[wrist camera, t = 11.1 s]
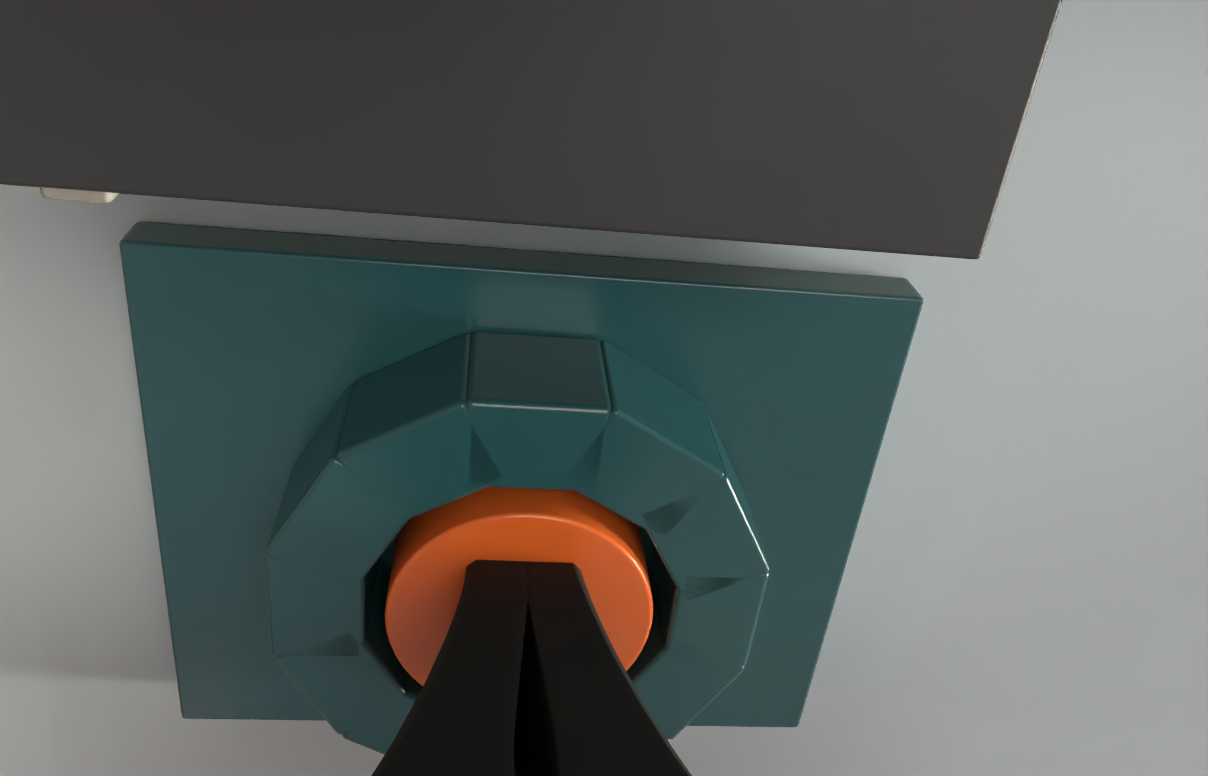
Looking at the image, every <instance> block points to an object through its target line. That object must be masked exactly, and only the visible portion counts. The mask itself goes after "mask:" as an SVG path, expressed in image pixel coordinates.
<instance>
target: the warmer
mask: <svg viewBox="0 0 1208 776" xmlns="http://www.w3.org/2000/svg"><path fill="white" fill-rule="evenodd" d="M1061 2H1062V0H0V184H5V185H18V186H31V187H40V191H41V194H42V196H43V197H44V198H47V199H58V200H72V201H85V202H98V203H108V202H111V201H112V200H113V199H114V198H115V197H116V196H117V195H118V194H119V193H122V194H135V195H148V196H161V197H174V198H187V199H200V200H213V201H226V202H239V203H252V204H265V205H278V206H290V207H303V208H316V209H329V210H342V211H355V212H368V213H381V214H394V215H407V216H420V217H433V218H446V219H459V220H472V221H485V222H498V223H511V224H524V225H537V226H550V227H563V228H576V229H589V230H602V231H615V232H628V233H641V234H654V235H667V236H680V237H693V238H706V239H719V240H732V241H745V242H758V243H770V244H783V245H796V246H809V247H822V248H835V249H848V250H861V251H874V252H887V253H900V254H913V255H926V256H939V257H952V258H965V259H978V258H979V257H980V256H981V254H982V251H983V248H984V244H985V241H986V238H987V235H988V232H989V229H990V226H991V222H992V219H993V216H994V213H995V210H996V207H997V204H998V200H999V197H1000V194H1001V191H1002V188H1003V185H1004V182H1005V178H1006V175H1007V172H1008V169H1009V166H1010V163H1011V159H1012V156H1013V153H1014V150H1015V147H1016V144H1017V141H1018V137H1019V134H1020V131H1021V128H1022V125H1023V122H1024V119H1025V115H1026V112H1027V109H1028V106H1029V103H1030V100H1031V97H1032V93H1033V90H1034V87H1035V84H1036V81H1037V78H1038V75H1039V71H1040V68H1041V65H1042V62H1043V59H1044V56H1045V53H1046V49H1047V46H1048V43H1049V40H1050V37H1051V34H1052V31H1053V27H1054V24H1055V21H1056V18H1057V15H1058V12H1059V9H1060V5H1061Z"/></svg>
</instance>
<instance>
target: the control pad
mask: <svg viewBox="0 0 1208 776" xmlns="http://www.w3.org/2000/svg"><path fill="white" fill-rule="evenodd" d="M120 251H121V259H122V266H123V274H124V281H125V289H126V297H127V304H128V312H129V319H130V327H131V334H132V342H133V350H134V357H135V365H136V372H137V380H138V387H139V395H140V402H141V410H142V418H143V425H144V433H145V440H146V448H147V455H148V463H149V470H150V478H151V486H152V493H153V501H154V508H155V516H156V523H157V531H158V539H159V546H160V554H161V561H162V569H163V576H164V584H165V591H166V599H167V607H168V614H169V622H170V629H171V637H172V644H173V652H174V659H175V667H176V675H177V682H178V690H179V697H180V705H181V712H182V717H183V718H188V719H258V720H326V721H327V722H328V723H329V724H330V725H331V726H332V727H333V729H334V730H335V731H336V732H337V733H338V734H340V735H343V737H344V738H345V739H347V740H350V741H352V742H355V743H357V744H360V745H362V746H365V747H367V748H370V749H372V750H375V751H377V752H380V753H382V754H386V752H387V750H388V749H389V747H390V745H391V744H392V742H393V740H394V739H395V737H396V735H397V734H398V732H399V730H400V728H401V726H402V724H403V723H404V721H405V719H406V717H407V715H408V713H409V712H410V710H411V708H412V706H413V704H414V702H415V701H416V699H417V697H418V695H419V693H420V691H421V690H422V688H423V686H422V685H421V684H419V683H418V682H417V681H416V680H415V679H413V678H412V677H411V675H410V674H409V673H408V672H407V671H406V670H405V669H404V668H403V666H402V665H401V663H400V662H399V660H398V659H397V657H396V655H395V653H394V651H393V649H392V647H391V644H390V642H389V639H388V635H387V631H386V625H385V607H386V599H387V592H388V586H389V579H390V573H391V566H392V560H393V553H394V547H395V540H396V536H397V534H398V533H399V532H400V531H401V529H402V528H403V527H404V525H405V524H406V523H407V522H408V520H409V519H411V518H414V517H416V516H418V515H421V514H423V513H426V512H428V511H431V510H433V509H435V508H438V507H440V506H443V505H445V504H448V503H450V502H452V501H455V500H457V499H460V498H462V497H465V496H467V495H469V494H472V493H474V492H477V491H479V490H482V489H484V488H486V487H503V488H526V489H549V490H572V491H576V492H578V493H580V494H582V495H584V496H585V497H587V498H589V499H591V500H593V501H594V502H596V503H598V504H600V505H602V506H604V507H605V508H607V509H609V510H611V511H613V512H615V513H616V514H618V515H620V516H622V517H624V518H625V519H627V520H629V521H631V522H633V523H635V524H636V525H638V526H639V527H640V532H641V538H642V543H643V549H644V554H645V560H646V565H647V571H648V576H649V582H650V587H651V593H652V600H653V617H652V625H651V628H650V632H649V636H648V638H647V640H646V642H645V645H644V647H643V649H642V651H641V652H640V654H639V656H638V657H637V659H636V660H635V662H634V663H633V664H632V665H631V666H630V668H629V669H628V670H627V671H626V672H627V674H628V675H629V677H630V679H631V681H632V683H633V684H634V686H635V688H636V690H637V692H638V694H639V695H640V697H641V699H642V700H643V702H644V704H645V705H646V707H647V709H648V710H649V712H650V714H651V715H652V717H653V718H654V720H655V722H656V723H657V725H658V726H659V728H660V729H661V731H662V732H663V734H664V736H665V737H666V739H667V740H668V739H673V738H674V737H675V736H676V735H677V734H678V733H679V732H680V731H681V730H682V729H683V728H685V727H686V726H747V727H797V726H798V724H799V721H800V718H801V714H802V711H803V708H804V704H805V701H806V697H807V694H808V691H809V687H810V684H811V680H812V677H813V674H814V670H815V667H816V663H817V660H818V657H819V653H820V650H821V646H822V643H823V640H824V636H825V633H826V630H827V626H828V623H829V619H830V616H831V613H832V609H833V606H834V602H835V599H836V596H837V592H838V589H839V585H840V582H841V579H842V575H843V572H844V568H845V565H846V562H847V558H848V555H849V552H850V548H851V545H852V541H853V538H854V535H855V531H856V528H857V524H858V521H859V518H860V514H861V511H862V507H863V504H864V501H865V497H866V494H867V490H868V487H869V484H870V480H871V477H872V474H873V470H874V467H875V463H876V460H877V457H878V453H879V450H880V446H881V443H882V440H883V436H884V433H885V429H886V426H887V423H888V419H889V416H890V413H891V409H892V406H893V402H894V399H895V396H896V392H897V389H898V385H899V382H900V379H901V375H902V372H903V368H904V365H905V362H906V358H907V355H908V351H909V348H910V345H911V341H912V338H913V335H914V331H915V328H916V324H917V321H918V318H919V314H920V311H921V307H922V304H923V298H922V297H921V295H920V294H919V293H918V292H917V291H916V289H915V288H914V287H913V286H912V285H911V284H910V282H909V281H908V280H907V279H904V278H891V277H877V276H864V275H850V274H837V273H823V272H810V271H796V270H783V269H769V268H755V267H742V266H728V265H715V264H701V263H688V262H674V261H661V260H647V259H634V258H620V257H606V256H593V255H579V254H566V253H552V252H539V251H525V250H512V249H498V248H485V247H471V246H457V245H444V244H430V243H417V242H403V241H390V240H376V239H363V238H349V237H336V236H322V235H308V234H295V233H281V232H268V231H254V230H241V229H227V228H214V227H200V226H187V225H173V224H159V223H146V222H138V223H136V224H135V225H134V226H133V227H132V229H131V230H130V231H129V232H128V233H127V234H126V235H125V236H124V238H123V239H122V240H121V241H120Z"/></svg>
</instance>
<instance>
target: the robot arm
mask: <svg viewBox="0 0 1208 776" xmlns="http://www.w3.org/2000/svg"><path fill="white" fill-rule="evenodd" d="M372 776H692V775H691V774H690V772H689V771H688V770H687V768H686V767H685V765H684V764H683V763H682V761H681V760H680V758H679V757H678V755H677V754H676V752H675V751H674V749H673V748H672V746H671V745H670V743H669V742H668V740H667V739H666V737H665V736H664V734H663V732H662V731H661V729H660V728H659V726H658V725H657V723H656V722H655V720H654V718H653V717H652V715H651V714H650V712H649V710H648V709H647V707H646V705H645V704H644V702H643V700H642V699H641V697H640V695H639V694H638V692H637V690H636V688H635V686H634V684H633V683H632V681H631V679H630V677H629V675H628V674H627V672H626V670H625V668H624V666H623V665H622V663H621V661H620V659H619V657H618V655H617V653H616V651H615V649H614V647H613V646H612V644H611V642H610V640H609V637H608V635H607V633H606V631H605V629H604V627H603V625H602V623H601V621H600V618H599V616H598V614H597V612H596V609H595V607H594V605H593V602H592V600H591V597H590V595H589V592H588V590H587V587H586V584H585V582H584V579H583V576H582V572H581V570H580V569H579V568H578V567H577V566H576V565H575V564H574V563H564V562H533V561H504V560H475V561H473V562H472V563H471V564H469V565H468V566H466V574H465V580H464V585H463V589H462V593H461V596H460V600H459V603H458V606H457V609H456V612H455V614H454V617H453V620H452V622H451V625H450V628H449V630H448V633H447V635H446V638H445V640H444V642H443V644H442V647H441V649H440V651H439V653H438V655H437V658H436V660H435V662H434V664H433V667H432V669H431V671H430V673H429V675H428V678H427V680H426V682H425V684H424V686H423V688H422V690H421V691H420V693H419V695H418V697H417V699H416V701H415V702H414V704H413V706H412V708H411V710H410V712H409V713H408V715H407V717H406V719H405V721H404V723H403V724H402V726H401V728H400V730H399V732H398V734H397V735H396V737H395V739H394V740H393V742H392V744H391V745H390V747H389V749H388V750H387V752H386V754H385V755H384V757H383V759H382V760H381V762H380V763H379V765H378V767H377V768H376V770H375V771H374V773H373V774H372Z"/></svg>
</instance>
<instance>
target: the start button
mask: <svg viewBox="0 0 1208 776" xmlns="http://www.w3.org/2000/svg"><path fill="white" fill-rule="evenodd" d="M475 560H504V561H533V562H564V563H574V564H575V565H576V566H577V567H578V568H579V569H580V570H581V572H582V576H583V579H584V582H585V584H586V587H587V590H588V592H589V595H590V597H591V600H592V602H593V605H594V607H595V609H596V612H597V614H598V616H599V618H600V621H601V623H602V625H603V627H604V629H605V631H606V633H607V635H608V637H609V640H610V642H611V644H612V646H613V647H614V649H615V651H616V653H617V655H618V657H619V659H620V661H621V663H622V665H623V666H624V668H625V670H626V671H627V670H628V669H629V668H630V666H631V665H632V664H633V663H634V662H635V660H636V659H637V657H638V656H639V654H640V652H641V651H642V649H643V647H644V645H645V642H646V640H647V638H648V636H649V632H650V628H651V625H652V617H653V600H652V593H651V587H650V582H649V576H648V571H647V565H646V560H645V554H644V549H643V543H642V538H641V532H640V527H639V526H638V525H636V524H635V523H633V522H631V521H629V520H627V519H625V518H624V517H622V516H620V515H618V514H616V513H615V512H613V511H611V510H609V509H607V508H605V507H604V506H602V505H600V504H598V503H596V502H594V501H593V500H591V499H589V498H587V497H585V496H584V495H582V494H580V493H578V492H576V491H572V490H549V489H526V488H503V487H486V488H484V489H482V490H479V491H477V492H474V493H472V494H469V495H467V496H465V497H462V498H460V499H457V500H455V501H452V502H450V503H448V504H445V505H443V506H440V507H438V508H435V509H433V510H431V511H428V512H426V513H423V514H421V515H418V516H416V517H414V518H411V519H409V520H408V522H407V523H406V524H405V525H404V527H403V528H402V529H401V531H400V532H399V533H398V534H397V536H396V540H395V547H394V553H393V560H392V566H391V573H390V579H389V586H388V592H387V599H386V607H385V625H386V631H387V635H388V639H389V642H390V644H391V647H392V649H393V651H394V653H395V655H396V657H397V659H398V660H399V662H400V663H401V665H402V666H403V668H404V669H405V670H406V671H407V672H408V673H409V674H410V675H411V677H412V678H413V679H415V680H416V681H417V682H418V683H419V684H421V685H422V686H424V684H425V682H426V680H427V678H428V675H429V673H430V671H431V669H432V667H433V664H434V662H435V660H436V658H437V655H438V653H439V651H440V649H441V647H442V644H443V642H444V640H445V638H446V635H447V633H448V630H449V628H450V625H451V622H452V620H453V617H454V614H455V612H456V609H457V606H458V603H459V600H460V596H461V593H462V589H463V585H464V580H465V574H466V566H468V565H469V564H471V563H472V562H473V561H475Z"/></svg>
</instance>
